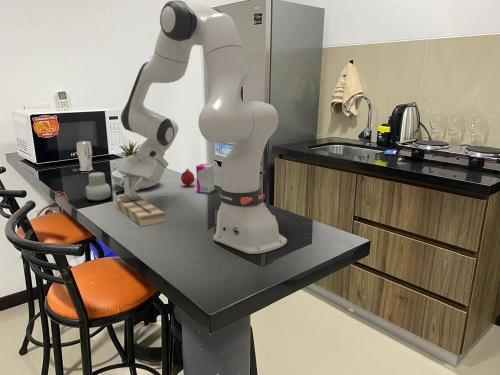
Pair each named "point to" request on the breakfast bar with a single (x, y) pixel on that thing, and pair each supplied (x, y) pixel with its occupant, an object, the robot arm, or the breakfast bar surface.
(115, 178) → the serving bowl
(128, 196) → the grey upright piece
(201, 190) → the supplement box
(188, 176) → the onion
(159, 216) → the tan flat bar
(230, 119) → the robot arm
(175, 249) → the breakfast bar surface
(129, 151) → the house plant
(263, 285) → the breakfast bar surface
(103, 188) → the air freshener
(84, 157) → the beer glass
